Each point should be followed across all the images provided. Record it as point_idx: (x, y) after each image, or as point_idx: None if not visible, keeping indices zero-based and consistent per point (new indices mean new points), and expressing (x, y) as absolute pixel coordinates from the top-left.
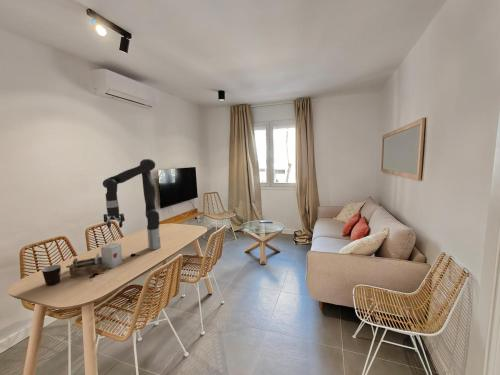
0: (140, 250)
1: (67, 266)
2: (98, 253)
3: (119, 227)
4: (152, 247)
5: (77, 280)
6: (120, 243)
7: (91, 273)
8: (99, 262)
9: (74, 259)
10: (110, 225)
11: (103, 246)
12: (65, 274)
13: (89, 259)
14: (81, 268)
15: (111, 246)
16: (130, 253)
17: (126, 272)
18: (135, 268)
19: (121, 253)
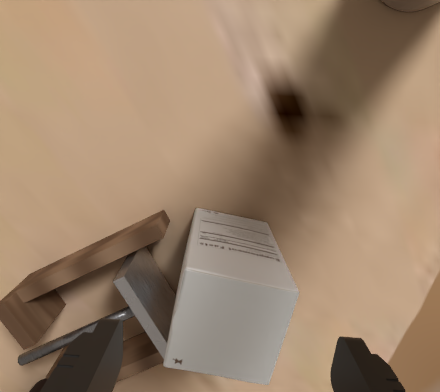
0: (311, 20)
1: (26, 363)
2: (121, 279)
3: (332, 383)
4: (422, 6)
5: (145, 380)
6: (297, 294)
7: None
8: (149, 266)
9: (3, 320)
10: (110, 350)
11: (177, 355)
12: None
13: (80, 276)
14: (124, 377)
15: (252, 359)
16: (254, 78)
17: (342, 327)
18: (374, 291)
19: (279, 250)
